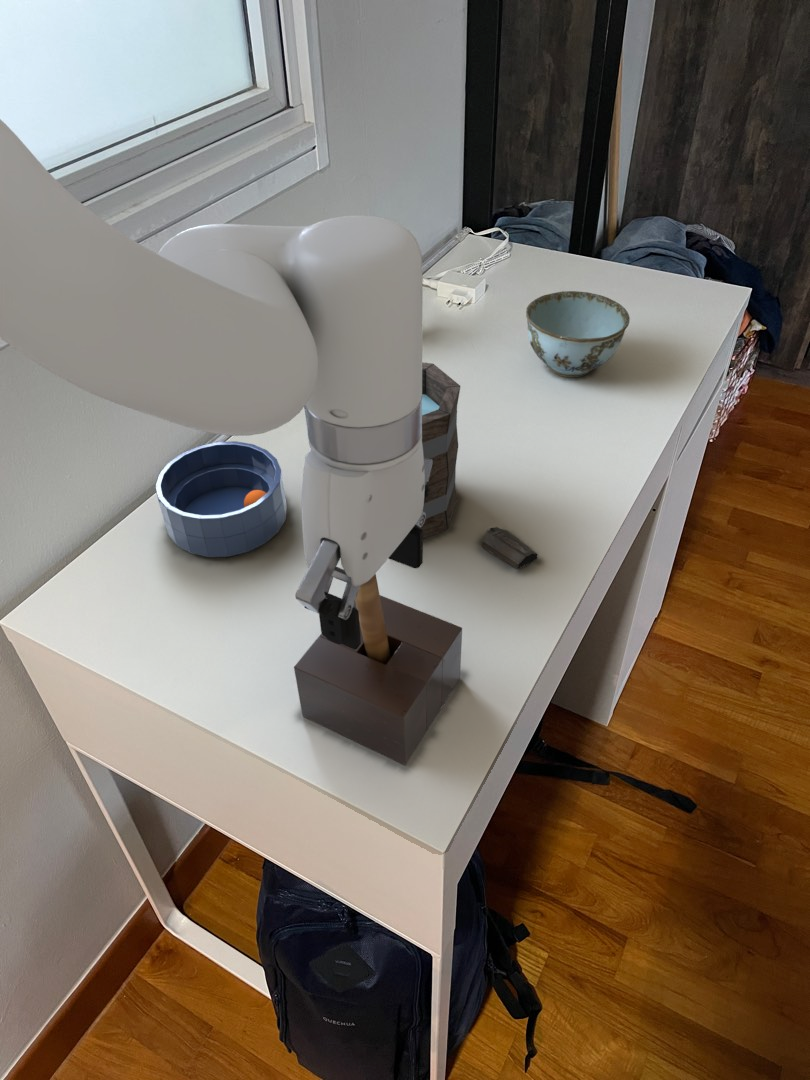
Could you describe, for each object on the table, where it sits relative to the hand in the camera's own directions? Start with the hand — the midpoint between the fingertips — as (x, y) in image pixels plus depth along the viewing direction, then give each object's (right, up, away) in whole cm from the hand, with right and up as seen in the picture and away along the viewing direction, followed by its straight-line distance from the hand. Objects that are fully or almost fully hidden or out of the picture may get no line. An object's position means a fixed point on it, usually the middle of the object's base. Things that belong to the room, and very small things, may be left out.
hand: (374, 599), depth 65 cm
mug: (-1, +10, +30) cm, 31 cm away
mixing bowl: (-17, +7, +27) cm, 33 cm away
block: (+13, +3, +22) cm, 26 cm away
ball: (-14, +9, +26) cm, 30 cm away
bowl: (+25, +29, +49) cm, 63 cm away
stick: (+1, -10, +9) cm, 13 cm away
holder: (0, -9, +9) cm, 13 cm away
